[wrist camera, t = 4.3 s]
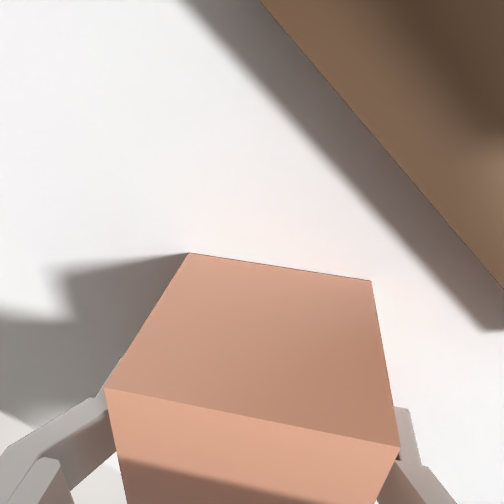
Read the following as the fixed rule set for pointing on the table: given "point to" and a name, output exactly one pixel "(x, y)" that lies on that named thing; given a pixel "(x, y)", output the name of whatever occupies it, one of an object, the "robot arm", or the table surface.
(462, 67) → the base
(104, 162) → the table surface
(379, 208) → the table surface
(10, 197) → the table surface
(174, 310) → the salmon rectangular block
